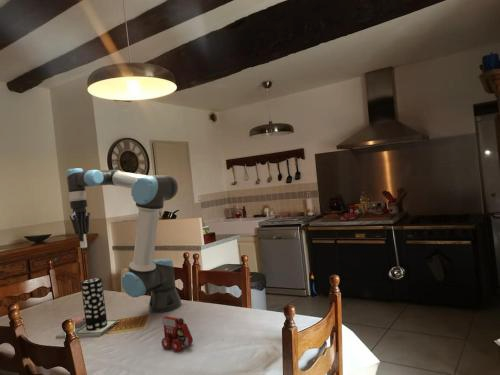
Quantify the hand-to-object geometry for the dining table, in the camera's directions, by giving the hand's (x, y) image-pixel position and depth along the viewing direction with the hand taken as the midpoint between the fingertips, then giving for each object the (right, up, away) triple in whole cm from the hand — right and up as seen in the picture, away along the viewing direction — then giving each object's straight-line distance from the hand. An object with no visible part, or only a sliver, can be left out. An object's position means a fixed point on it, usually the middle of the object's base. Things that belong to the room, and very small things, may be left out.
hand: (84, 247), depth 181 cm
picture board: (+13, -32, -23) cm, 41 cm away
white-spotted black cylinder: (+16, -30, -24) cm, 42 cm away
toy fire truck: (+56, -27, -50) cm, 80 cm away
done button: (+6, -31, -19) cm, 37 cm away
